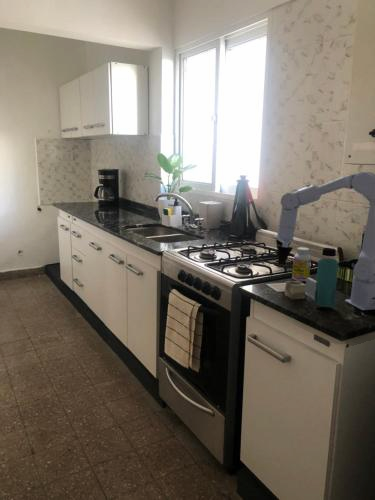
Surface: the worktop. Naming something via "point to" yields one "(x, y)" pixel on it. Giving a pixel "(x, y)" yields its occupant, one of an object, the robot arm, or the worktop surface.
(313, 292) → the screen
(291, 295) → the letter cube
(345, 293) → the worktop surface
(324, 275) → the beverage bottle
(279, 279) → the worktop surface
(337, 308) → the worktop surface
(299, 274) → the supplement bottle
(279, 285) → the tile
